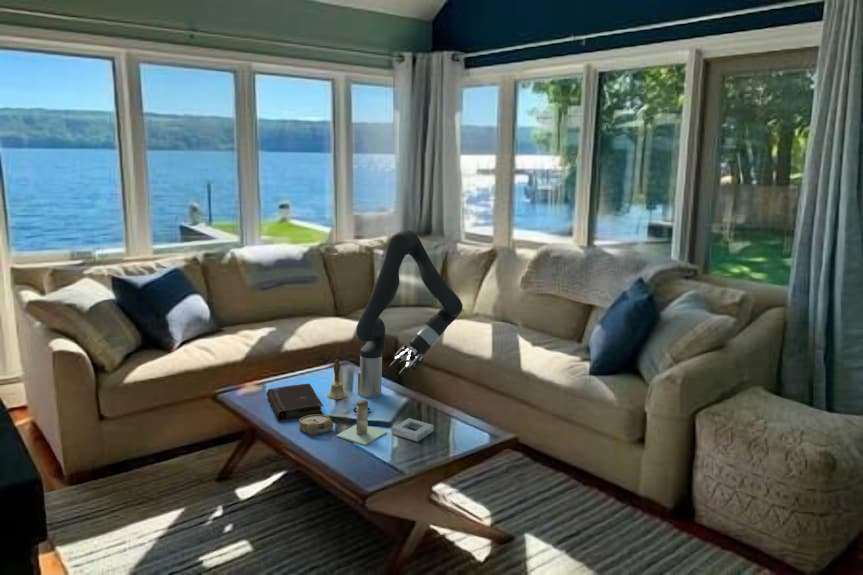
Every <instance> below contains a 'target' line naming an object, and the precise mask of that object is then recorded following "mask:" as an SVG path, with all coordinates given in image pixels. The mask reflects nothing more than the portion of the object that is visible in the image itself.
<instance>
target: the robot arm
mask: <svg viewBox="0 0 863 575" xmlns="http://www.w3.org/2000/svg"><path fill="white" fill-rule="evenodd" d="M407 255H410V257H411V258H412V259H413V260H414V261H415V263H416V265H417V267H418V270H419V274H420V277H421V280H422V282H423V284H424V285H425V288H426V289H427V290H428V291H429V293H430V294H431V295H432V296H433V297H434V298H435V299H436V300H438V302H439V303H440V305H441V306H442V307H441V308H440V310H439V311H438V312H436V314H434V315H433V316H432V317H431V318H430V319H429V320H428V321H427V322H426V323H425V324H424V325H423V326H422V327H421V328H420V329H419V330H418V331H417V333H416V334H414V335H413V337H412V338H411V339H410V340H409V342H408V343H409V345H408V346H407V345H406V344H403V345H402V346H401V347H400V348H399V349H398V350H397V351H396V352H395V353H394V354H393V356H394V360H393V361H392V362H391V363H390V364H389V368H390V369H391V370H392V371H394V370H395V369H396V368H397V367H398V366H399V365H400V363H401V362H403V361H404V362H406V364H405V366H403V368H401V370H400V371H399V372H398V375H399V376H400V377H401V378H404V377H405V376H406V375H407V374H408V373H409V371H416V369H417V368H418V367H419V366H420V364H421V363H422V362H423V361H424V359H425V358H424V355H426V354H427V352H428V351H429V350H430V349H431V348H432V347H433V346H434V344H435V343H436V342H437V341H438V340H439V338H440V337H441V335H443V333H444V332H445V331H446V329H447V328H448V326H450V325H451V324H452V323H453V322H454V321H455V320H456V319H457V318H458V317H459V316H460V315H461V313H462V311H463V303H462V301H461V299H460V298H459V296H458V295H457V294H456V293H455V292H454V291H453V290H452V289H451V288H450V287H449V285H448V283H447V282H446V281H445V279H444V278H443V276H442V275H441V274H440V272H439V271H438V269H436V267H435V264H433V262H432V260H431V258H430V256H429V254H428V253H427V250H426V249H425V247H424V245H423V243H422V241H421V240H420V238H419V236H418V235H417V233H416V232H414V231H412V230H411V229H408V230H407V229H406V230H401V231H398V232H395V233H393V234H392V236H391V237H390V239H389V242H388V245H387V248H386V252H385V256H384V259H383V262H382V266H381V268H380V270H379V273H378V276H377V279H376V281H375V283H374V285H373V289H372V292H371V295H370V297H369V299H368V302H367V304H366V307H365V309H364V311H363V313H362V314H361V316H360V318H359V320H358V322H357V325H356V333H355V334H356V336H357V338H358V340H359V341H361V342H363V343H364V342H366V343H365V344H364V345H363V346H362V347H361V348H360V351H359V358H360V359H359V371H358V372H357V394H358V395H360V396H361V397H363V396H364V398H368V397H373V398H378V397H380V396H381V395H382V380H383V379H382V378H383V377H382V374H383V373H382V372H383V370H382V368H383V351H384V349H385V339H386V338H385V337H386V326H385V323H384V321H383V319H382V318H380V316H381V314H383V312H384V311H385V310H386V309H387V308H388V307H389V306H390V304H391V303H392V302H393V300H394V299H395V296H396V295H397V292H398V289H399V286H400V267H401V265H402V263H403V261H404V259H405V257H406V256H407Z"/></svg>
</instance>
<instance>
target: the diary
mask: <svg viewBox="0 0 863 575" xmlns="http://www.w3.org/2000/svg"><path fill="white" fill-rule="evenodd" d="M266 396H267V398H268V401H269V403H270V406H271V408H272V410H273V411H274V414H275V417H276V419H277V421H278V422H281V420H280V416H281V418H282V420H284V421H285V419H286V420H290V419H291V420H292V419H298V418H299V419H301V418H302V417H304V416H308V415H317V414H319V415H325V414H324V413H323V411H322V410H321V409H322V407H324V404H323V403H322V401H321V400H320V397H318V395H317V394H316V392H315V389H314V387H312V385H311V384H310V383H301V384H293V385H285V386H279V387H275V388H268V390H267V391H266ZM284 416H285V418H284Z"/></svg>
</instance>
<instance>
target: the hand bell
mask: <svg viewBox="0 0 863 575" xmlns="http://www.w3.org/2000/svg"><path fill="white" fill-rule="evenodd" d="M340 365H341V364H340V362H339V359H334V363H333V372H334V382H332V383H331V388H330V390H329V392H328V393H327V395H326V397H327V398H328V399H330V400H342V399H346V398H347V397H348V394H347V393H346V392H345V390H344V387H343V383H342V382H340V377H339V374H340V371H341V370H340V369H341V366H340Z"/></svg>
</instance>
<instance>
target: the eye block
mask: <svg viewBox="0 0 863 575" xmlns="http://www.w3.org/2000/svg"><path fill="white" fill-rule="evenodd" d="M433 432H434V424H430V423H427V422H424V421H420V420H417V419H413V418H410V417H409V418H407V419H404V420H403V421H401V422H400V423H398V424H396V425H394V426H392V427H391V434H392V435H393V436H396V437H401V438H404V439H407V440H409V441H413V442H419V441H421V440H422V439H424V438H425V437H426V436H428V435H429V434H431V433H433Z"/></svg>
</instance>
